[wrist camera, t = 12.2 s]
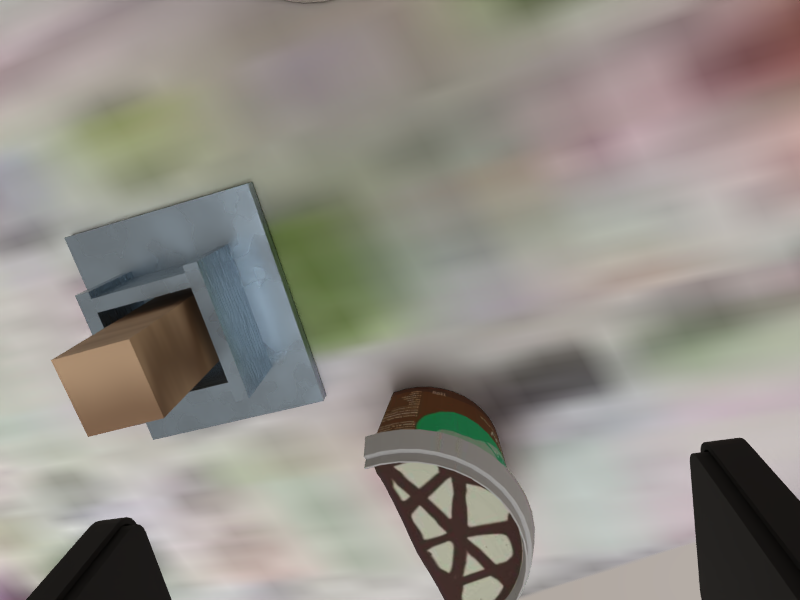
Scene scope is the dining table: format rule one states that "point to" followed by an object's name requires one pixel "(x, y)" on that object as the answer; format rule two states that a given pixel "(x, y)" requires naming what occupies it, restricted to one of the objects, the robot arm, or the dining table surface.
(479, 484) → the food container
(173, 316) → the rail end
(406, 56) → the dining table surface
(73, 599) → the robot arm
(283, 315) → the cup bracket
